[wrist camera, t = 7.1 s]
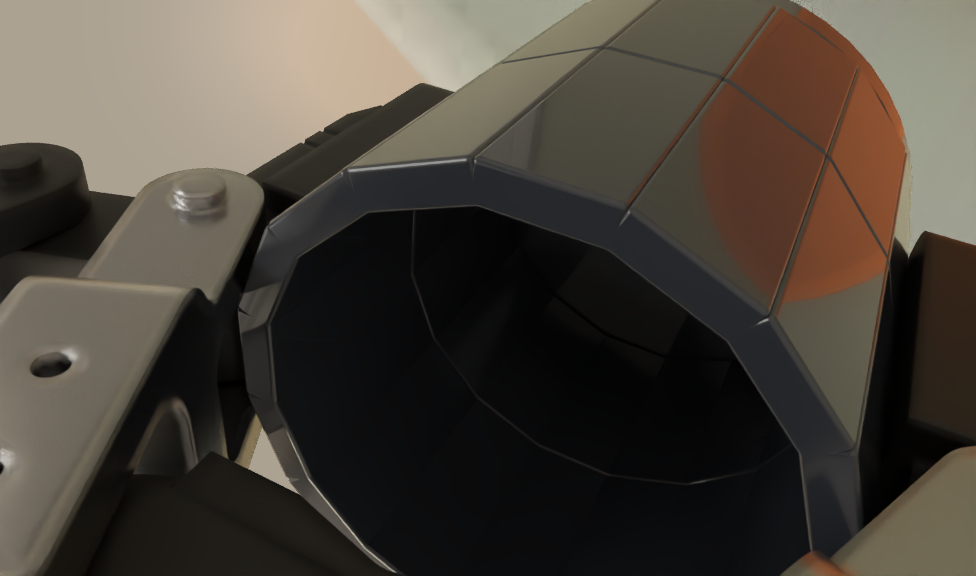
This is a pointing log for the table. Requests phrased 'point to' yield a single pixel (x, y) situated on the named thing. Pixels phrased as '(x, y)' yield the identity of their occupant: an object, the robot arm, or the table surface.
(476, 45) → the table surface
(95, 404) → the robot arm
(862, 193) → the grey plastic cup
